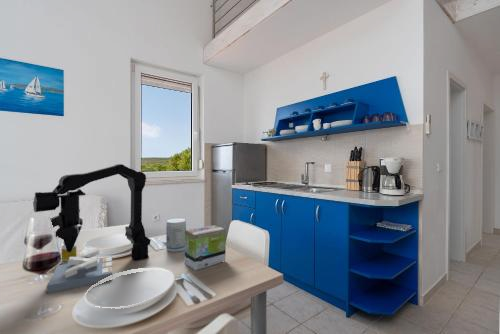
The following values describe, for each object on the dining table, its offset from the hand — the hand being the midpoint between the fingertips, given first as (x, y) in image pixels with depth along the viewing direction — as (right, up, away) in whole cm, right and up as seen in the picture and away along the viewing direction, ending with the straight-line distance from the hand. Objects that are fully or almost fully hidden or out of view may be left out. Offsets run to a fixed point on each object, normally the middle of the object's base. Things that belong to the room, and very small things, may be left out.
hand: (70, 249), depth 93 cm
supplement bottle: (-12, -11, +16) cm, 23 cm away
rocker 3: (+7, -6, -3) cm, 9 cm away
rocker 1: (+1, -5, +7) cm, 9 cm away
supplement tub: (+31, -11, +31) cm, 45 cm away
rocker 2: (+4, -5, +2) cm, 7 cm away
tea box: (+49, -11, +14) cm, 52 cm away
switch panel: (+4, -11, +2) cm, 12 cm away
